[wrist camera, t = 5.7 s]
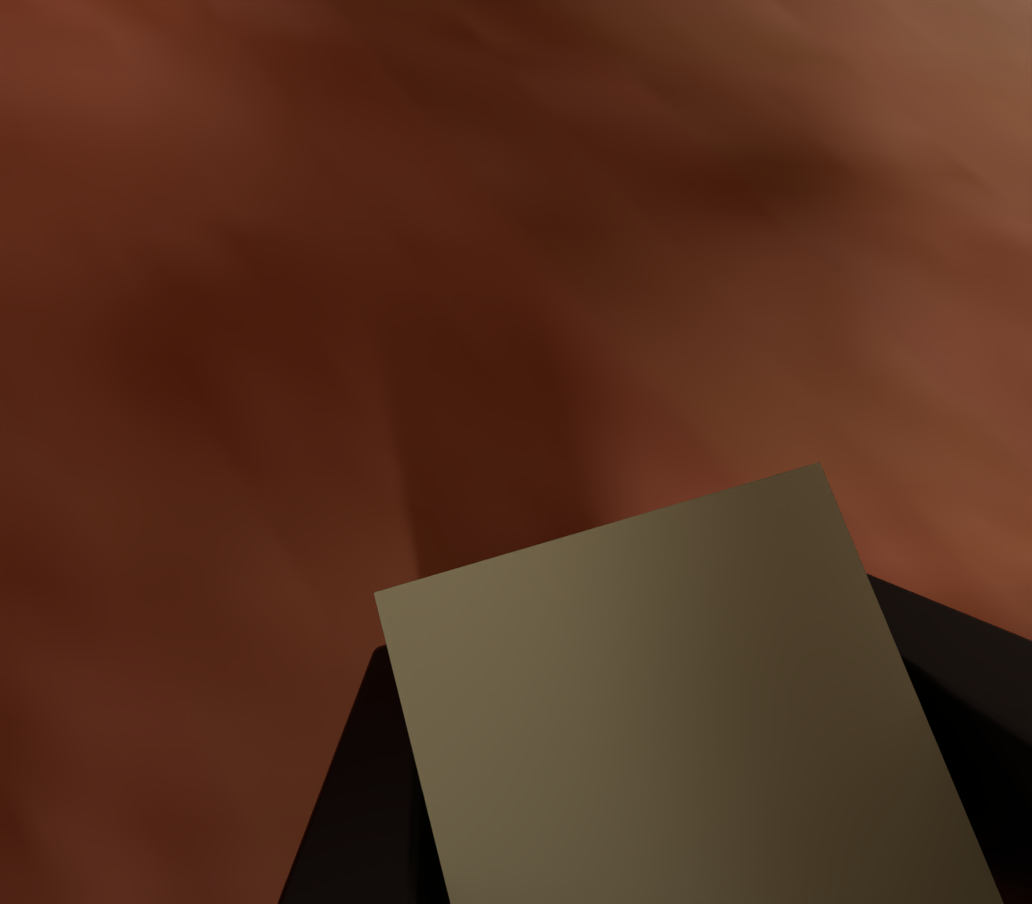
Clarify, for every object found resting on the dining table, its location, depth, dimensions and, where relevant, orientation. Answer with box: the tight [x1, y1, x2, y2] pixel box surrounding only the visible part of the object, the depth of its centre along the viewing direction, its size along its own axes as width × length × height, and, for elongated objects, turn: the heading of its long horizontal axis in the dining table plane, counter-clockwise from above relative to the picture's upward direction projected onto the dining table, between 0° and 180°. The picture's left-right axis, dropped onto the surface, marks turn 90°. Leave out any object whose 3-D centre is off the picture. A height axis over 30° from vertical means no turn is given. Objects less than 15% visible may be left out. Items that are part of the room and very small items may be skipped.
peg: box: [374, 462, 1004, 904], centre depth 10 cm, size 4×4×10 cm
